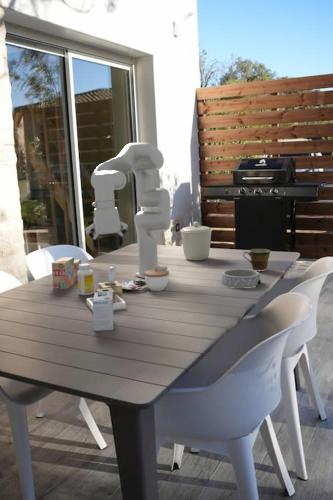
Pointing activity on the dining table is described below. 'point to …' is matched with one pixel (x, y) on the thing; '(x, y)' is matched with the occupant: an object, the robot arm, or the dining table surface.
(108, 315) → the light bulb box
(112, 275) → the steel pin
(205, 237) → the canister
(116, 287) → the oak block
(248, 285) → the dog bowl
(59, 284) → the stack of blocks
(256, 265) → the ceramic cup
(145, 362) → the dining table surface
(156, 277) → the lidded jar
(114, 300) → the walnut block
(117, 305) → the tray
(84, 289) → the supplement bottle
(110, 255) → the dining table surface
